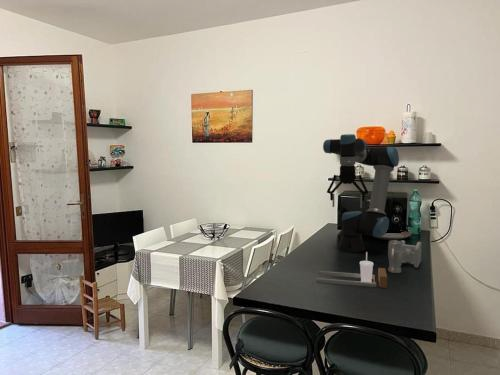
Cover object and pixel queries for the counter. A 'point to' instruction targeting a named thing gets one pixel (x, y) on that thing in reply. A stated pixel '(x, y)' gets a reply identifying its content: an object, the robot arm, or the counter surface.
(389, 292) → the counter surface
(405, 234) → the dinner plate
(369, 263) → the beverage cup
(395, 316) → the counter surface
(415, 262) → the cable organizer
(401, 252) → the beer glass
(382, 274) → the channel
